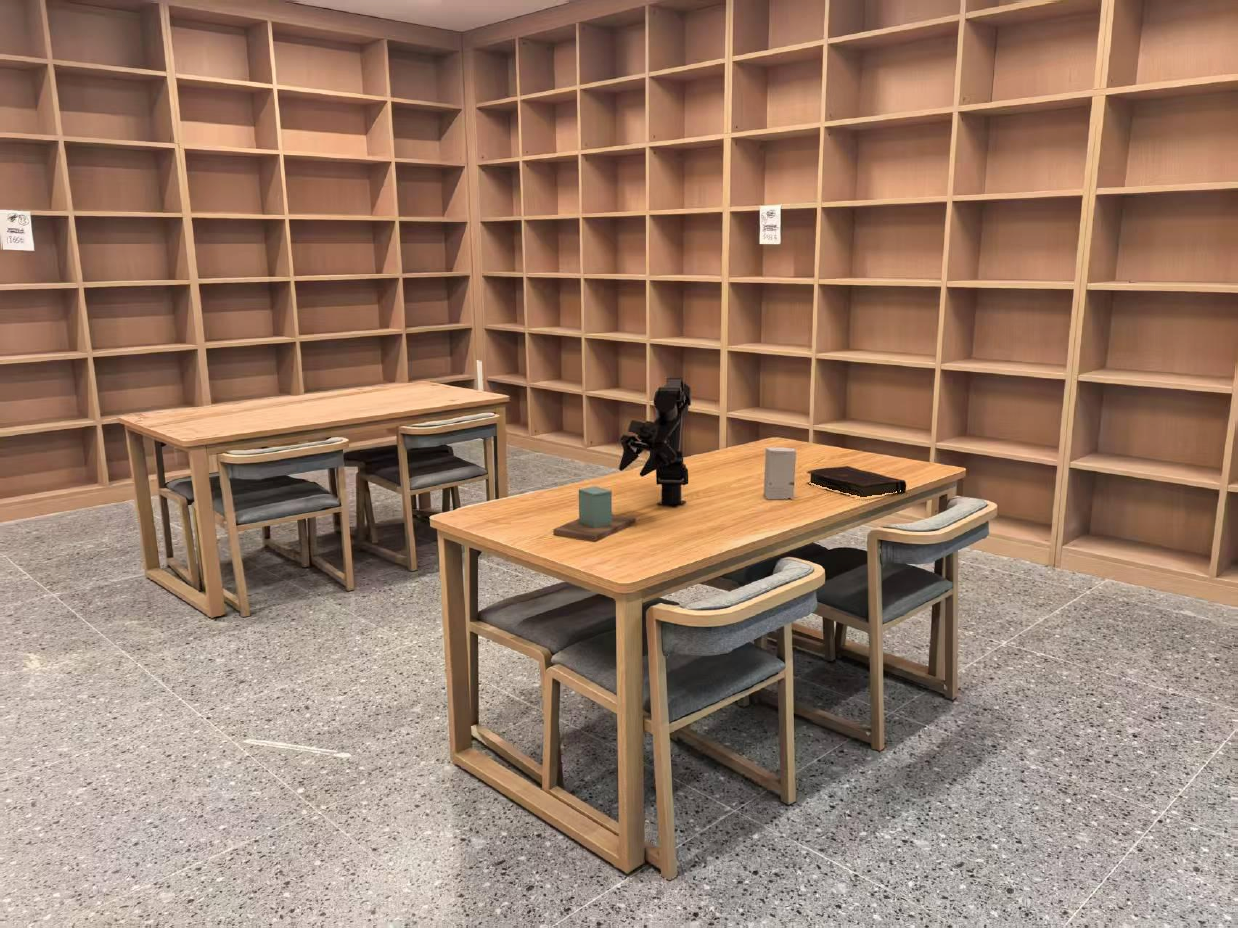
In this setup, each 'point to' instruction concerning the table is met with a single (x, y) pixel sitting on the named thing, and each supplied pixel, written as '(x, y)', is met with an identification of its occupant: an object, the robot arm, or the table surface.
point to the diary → (856, 481)
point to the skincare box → (779, 473)
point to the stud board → (594, 529)
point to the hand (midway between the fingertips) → (630, 472)
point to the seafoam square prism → (595, 506)
